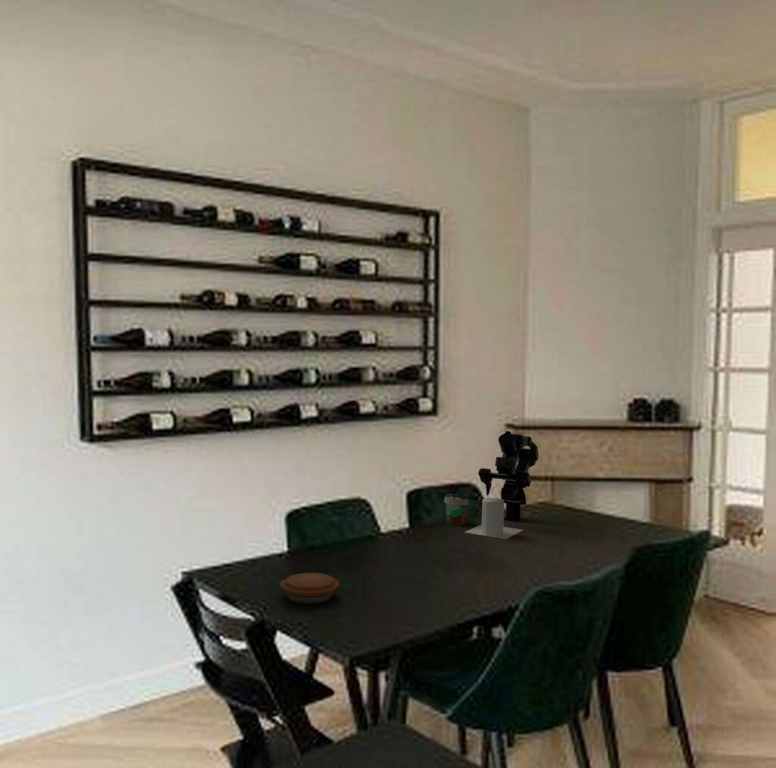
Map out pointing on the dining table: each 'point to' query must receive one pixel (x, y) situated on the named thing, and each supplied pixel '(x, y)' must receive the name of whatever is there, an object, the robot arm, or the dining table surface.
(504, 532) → the placemat
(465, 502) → the food container
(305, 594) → the pie
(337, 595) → the dining table surface
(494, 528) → the cover cup
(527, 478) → the robot arm
